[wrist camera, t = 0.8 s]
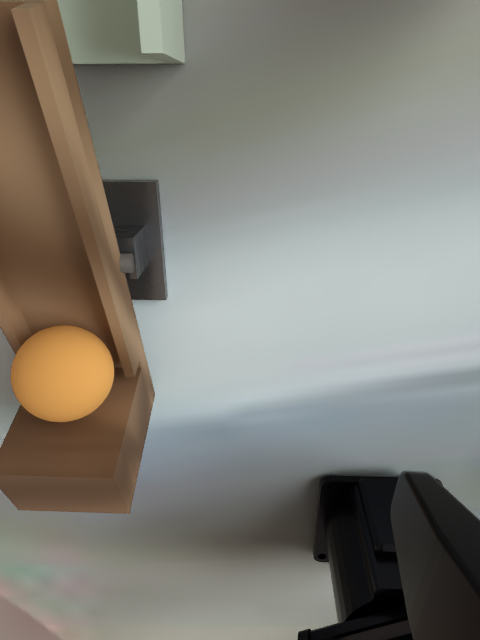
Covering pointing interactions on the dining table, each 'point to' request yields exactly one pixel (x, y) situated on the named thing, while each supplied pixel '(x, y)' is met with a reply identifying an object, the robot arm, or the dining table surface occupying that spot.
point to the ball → (62, 373)
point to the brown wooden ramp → (62, 274)
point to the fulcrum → (139, 234)
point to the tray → (124, 31)
